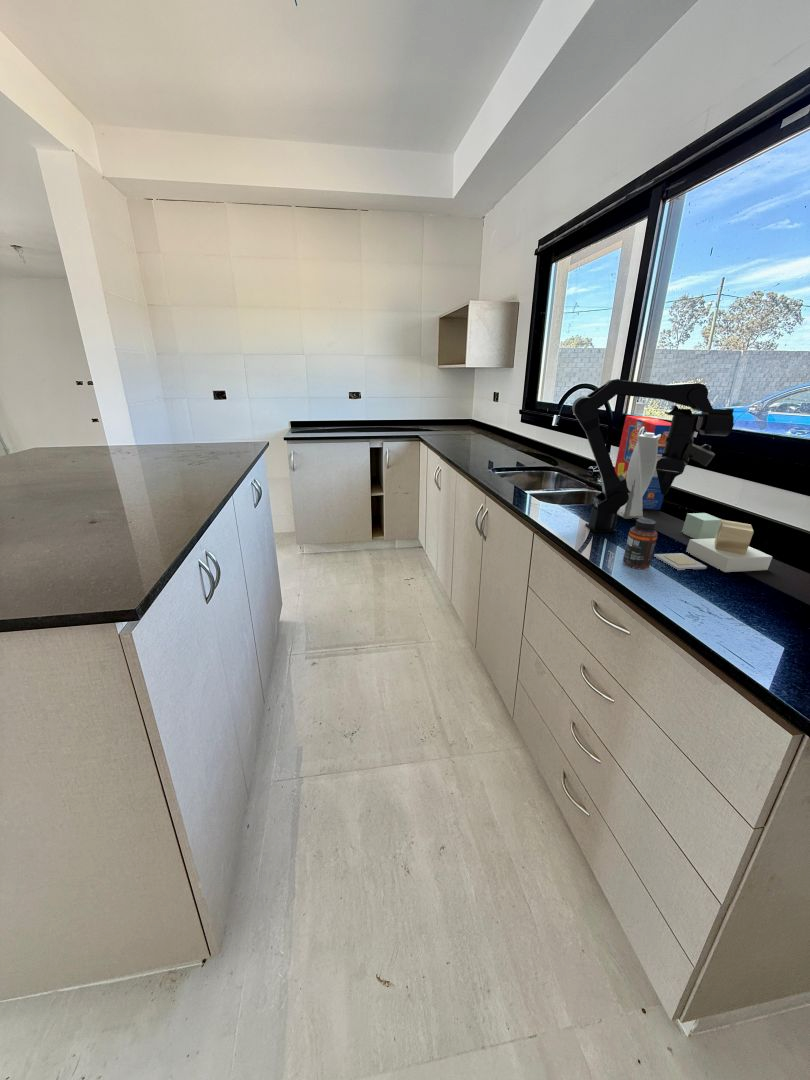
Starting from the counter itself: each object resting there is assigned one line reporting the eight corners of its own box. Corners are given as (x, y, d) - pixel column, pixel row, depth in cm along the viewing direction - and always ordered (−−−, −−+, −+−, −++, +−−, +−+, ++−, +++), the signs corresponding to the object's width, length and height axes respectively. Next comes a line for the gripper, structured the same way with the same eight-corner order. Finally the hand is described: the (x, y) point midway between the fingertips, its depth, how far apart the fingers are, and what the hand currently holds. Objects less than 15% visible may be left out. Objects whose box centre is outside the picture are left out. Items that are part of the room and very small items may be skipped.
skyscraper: (610, 511, 144) (629, 425, 133) (632, 511, 145) (653, 426, 134) (624, 519, 136) (646, 429, 126) (648, 519, 137) (671, 430, 127)
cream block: (723, 573, 102) (729, 558, 100) (685, 553, 112) (689, 539, 111) (766, 571, 104) (772, 556, 102) (724, 551, 114) (729, 537, 113)
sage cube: (697, 540, 120) (703, 520, 118) (681, 532, 126) (687, 513, 124) (716, 539, 121) (722, 519, 119) (699, 532, 127) (705, 512, 125)
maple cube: (745, 554, 102) (753, 531, 100) (715, 549, 105) (722, 526, 103) (742, 547, 107) (750, 524, 105) (714, 541, 110) (721, 519, 108)
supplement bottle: (647, 561, 106) (658, 518, 101) (651, 571, 100) (663, 526, 96) (620, 557, 107) (631, 515, 103) (623, 567, 102) (634, 522, 98)
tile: (676, 570, 101) (677, 567, 101) (653, 556, 109) (654, 553, 108) (706, 568, 103) (707, 565, 102) (681, 555, 110) (682, 552, 110)
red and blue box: (610, 487, 173) (626, 415, 162) (631, 488, 172) (648, 416, 161) (635, 508, 147) (655, 424, 136) (660, 510, 146) (682, 426, 135)
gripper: (716, 441, 101) (697, 504, 107) (718, 433, 115) (701, 489, 121) (663, 436, 107) (648, 496, 113) (671, 429, 121) (657, 482, 127)
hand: (665, 491), depth 118 cm, fingers open, 9 cm apart
